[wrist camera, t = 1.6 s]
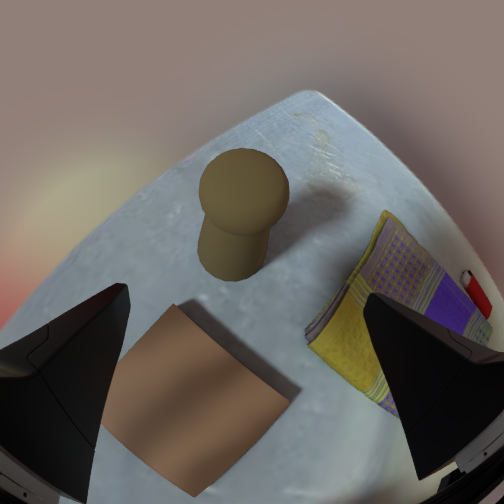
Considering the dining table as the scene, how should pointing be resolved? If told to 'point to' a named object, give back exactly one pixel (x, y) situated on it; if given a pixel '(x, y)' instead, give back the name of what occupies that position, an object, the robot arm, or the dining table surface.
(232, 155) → the olive brown peg figure
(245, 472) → the dining table surface
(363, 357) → the dish towel
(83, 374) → the robot arm
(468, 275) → the lighter
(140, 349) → the walnut board
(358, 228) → the dining table surface
